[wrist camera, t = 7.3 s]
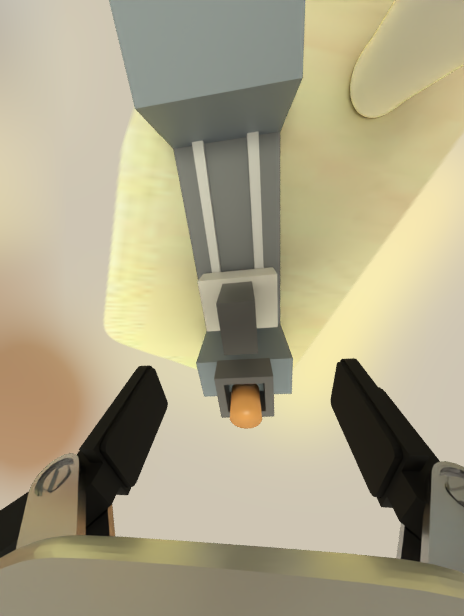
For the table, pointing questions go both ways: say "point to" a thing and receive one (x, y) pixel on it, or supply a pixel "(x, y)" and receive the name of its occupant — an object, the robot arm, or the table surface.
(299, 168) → the table surface
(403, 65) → the drinking glass
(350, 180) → the table surface
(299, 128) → the table surface
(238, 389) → the button
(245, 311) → the carriage
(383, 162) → the table surface
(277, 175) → the rail track
